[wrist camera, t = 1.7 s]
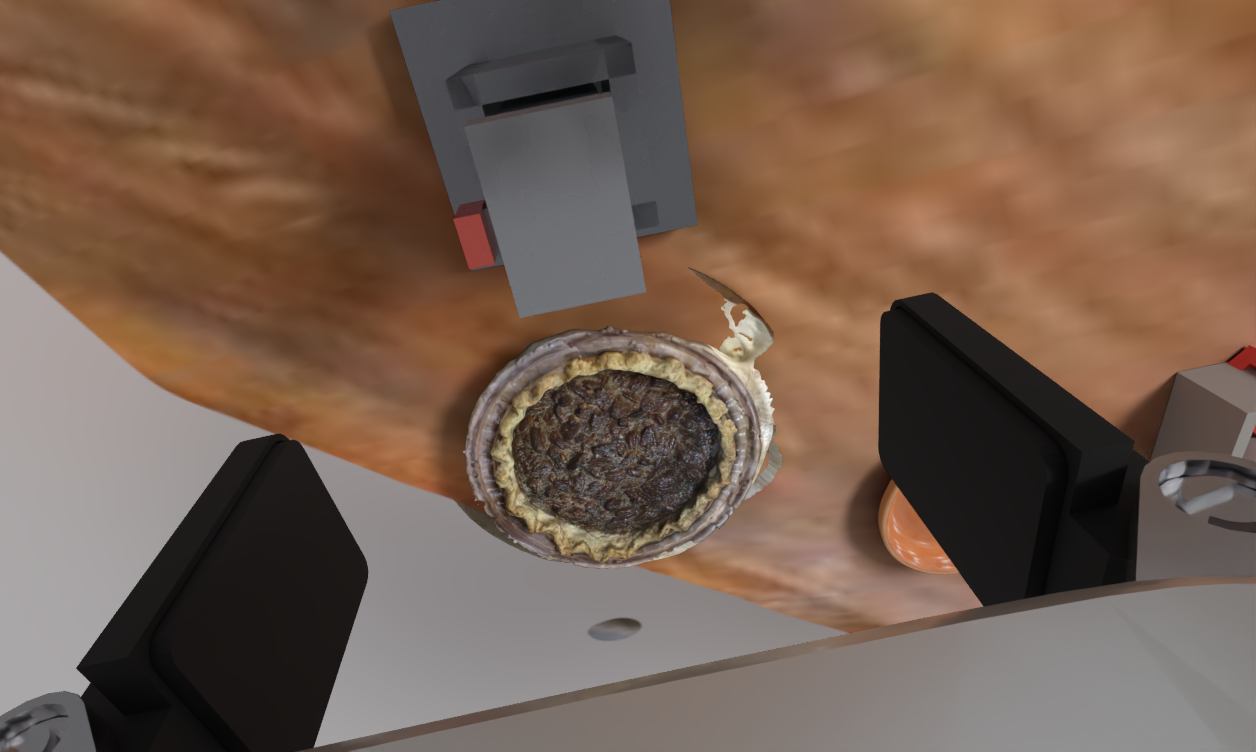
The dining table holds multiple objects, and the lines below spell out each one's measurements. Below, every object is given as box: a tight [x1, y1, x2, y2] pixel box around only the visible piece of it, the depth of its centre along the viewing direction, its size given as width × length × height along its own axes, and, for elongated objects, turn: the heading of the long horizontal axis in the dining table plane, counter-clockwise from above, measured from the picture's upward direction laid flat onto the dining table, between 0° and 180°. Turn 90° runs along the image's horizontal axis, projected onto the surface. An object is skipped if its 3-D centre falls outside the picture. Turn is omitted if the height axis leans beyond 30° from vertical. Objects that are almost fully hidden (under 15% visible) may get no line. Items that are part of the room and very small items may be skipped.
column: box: [464, 82, 646, 318], centre depth 28 cm, size 6×5×17 cm
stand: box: [389, 0, 697, 271], centre depth 32 cm, size 14×14×11 cm
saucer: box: [878, 479, 959, 574], centre depth 54 cm, size 16×16×3 cm
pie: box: [455, 268, 783, 569], centre depth 47 cm, size 28×27×5 cm
